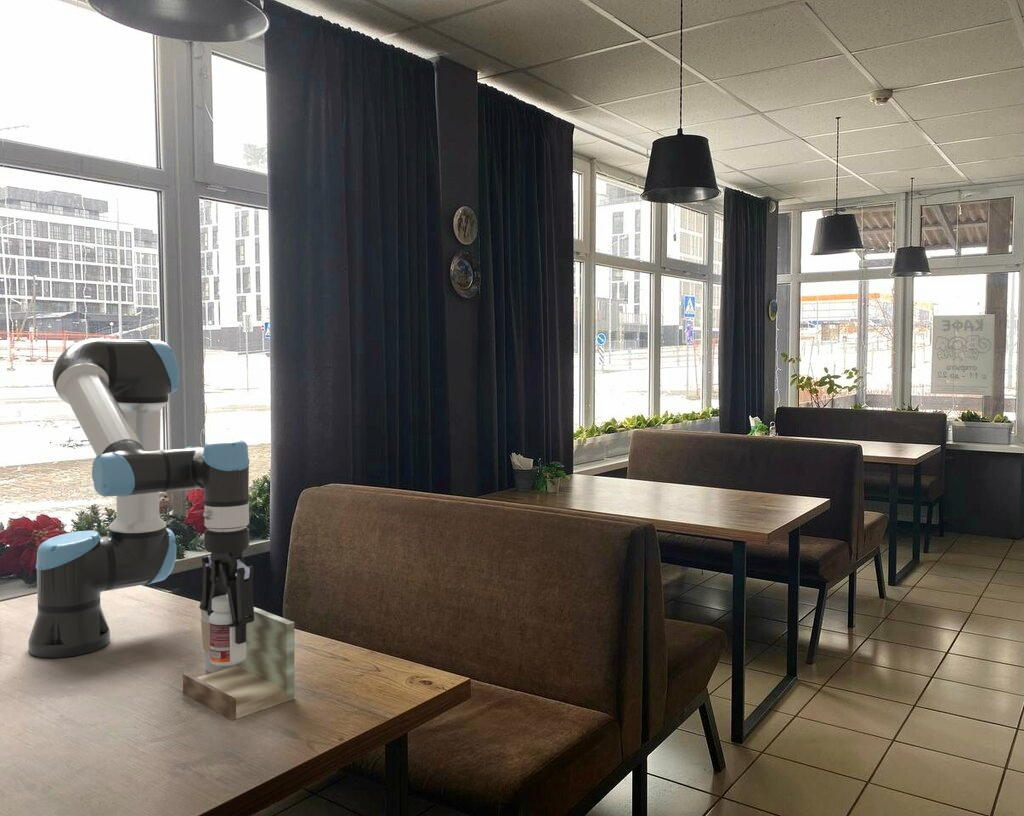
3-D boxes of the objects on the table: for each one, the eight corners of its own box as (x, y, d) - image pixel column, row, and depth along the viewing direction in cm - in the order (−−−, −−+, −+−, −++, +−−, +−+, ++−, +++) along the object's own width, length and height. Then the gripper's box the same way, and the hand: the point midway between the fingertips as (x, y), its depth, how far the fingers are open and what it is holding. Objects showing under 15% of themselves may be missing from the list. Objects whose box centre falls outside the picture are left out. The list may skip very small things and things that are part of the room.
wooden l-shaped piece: (182, 692, 150) (182, 617, 149) (243, 673, 159) (243, 602, 159) (231, 720, 139) (231, 639, 138) (294, 698, 148) (294, 622, 147)
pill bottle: (247, 664, 145) (247, 600, 145) (210, 668, 143) (209, 604, 142) (244, 652, 151) (243, 592, 150) (208, 657, 149) (207, 595, 148)
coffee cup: (232, 677, 158) (232, 600, 157) (190, 673, 159) (189, 597, 158) (256, 660, 166) (256, 587, 165) (216, 656, 168) (215, 584, 167)
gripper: (180, 523, 149) (181, 648, 151) (235, 538, 137) (237, 675, 138) (218, 517, 155) (219, 638, 156) (275, 532, 142) (276, 663, 144)
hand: (227, 655), depth 147 cm, fingers closed on pill bottle, 6 cm apart
